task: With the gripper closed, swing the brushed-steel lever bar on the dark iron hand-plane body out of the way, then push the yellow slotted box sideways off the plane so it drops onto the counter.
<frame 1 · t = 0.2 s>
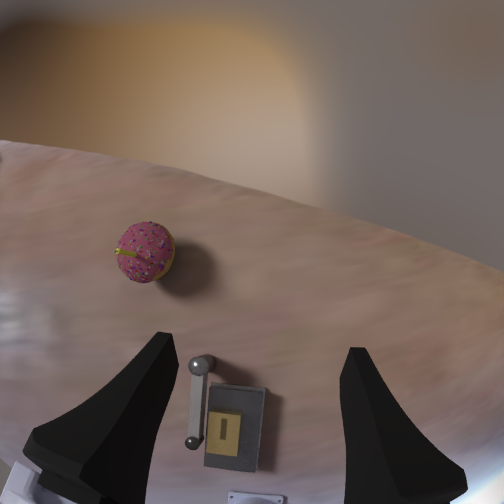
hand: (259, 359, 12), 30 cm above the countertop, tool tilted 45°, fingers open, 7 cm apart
yellow slotted box: (224, 431, 36), point 2 cm above the countertop, touching plane body
cupcake: (156, 259, 46), on the countertop
plane body: (234, 427, 39), on the countertop
lever: (199, 401, 37), point 3 cm above the countertop, hinge at 0.0°
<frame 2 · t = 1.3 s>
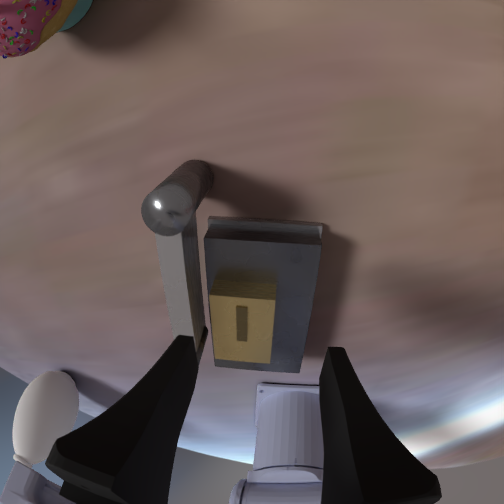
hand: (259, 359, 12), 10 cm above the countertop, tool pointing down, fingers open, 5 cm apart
sauce bottle: (67, 375, 35), on the countertop
yellow slotted box: (244, 316, 22), point 2 cm above the countertop, touching plane body
cupcake: (69, 1, 13), on the countertop
plane body: (262, 295, 24), on the countertop
lever: (188, 270, 19), point 3 cm above the countertop, hinge at 0.0°
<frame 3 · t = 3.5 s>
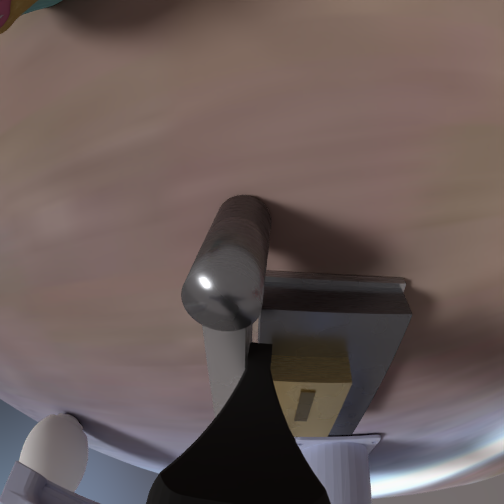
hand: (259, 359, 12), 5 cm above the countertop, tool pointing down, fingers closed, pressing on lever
sauce bottle: (72, 417, 30), on the countertop
yellow slotted box: (301, 390, 16), point 2 cm above the countertop, touching plane body
plane body: (317, 358, 18), on the countertop
lever: (235, 347, 14), point 3 cm above the countertop, hinge at 0.4°, touching gripper
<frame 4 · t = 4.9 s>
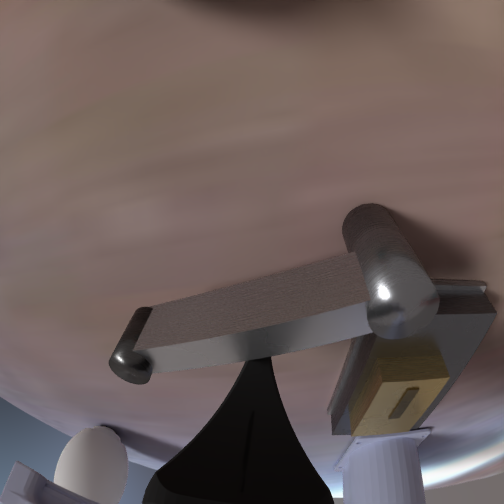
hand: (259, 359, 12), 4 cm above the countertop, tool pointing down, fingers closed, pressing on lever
sauce bottle: (108, 428, 29), on the countertop
yellow slotted box: (393, 389, 16), point 2 cm above the countertop, touching plane body
plane body: (399, 358, 18), on the countertop
lever: (258, 298, 12), point 3 cm above the countertop, hinge at 67.2°, touching gripper
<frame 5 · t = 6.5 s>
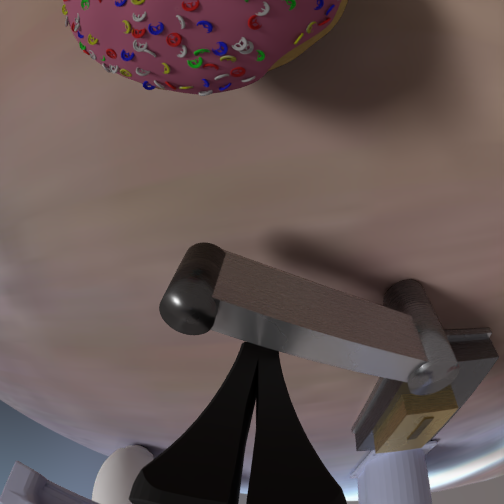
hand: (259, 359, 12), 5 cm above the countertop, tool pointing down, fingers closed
sauce bottle: (141, 447, 31), on the countertop
yellow slotted box: (411, 415, 18), point 2 cm above the countertop, touching plane body
plane body: (416, 387, 20), on the countertop
lever: (330, 307, 12), point 3 cm above the countertop, hinge at 108.7°
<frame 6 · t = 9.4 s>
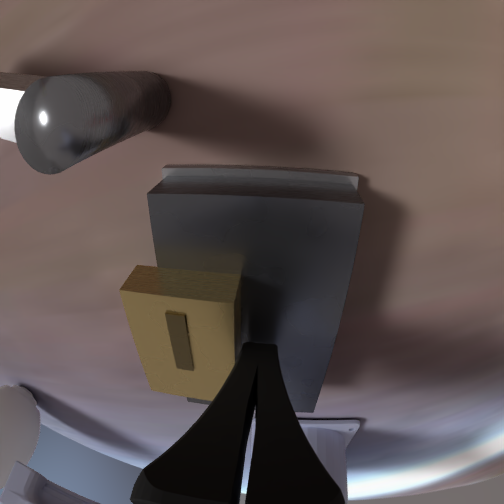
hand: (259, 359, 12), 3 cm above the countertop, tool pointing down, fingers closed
sauce bottle: (27, 390, 26), on the countertop
yellow slotted box: (193, 328, 13), point 2 cm above the countertop, touching gripper, plane body
plane body: (256, 298, 15), on the countertop
lever: (3, 91, 7), point 3 cm above the countertop, hinge at 108.7°
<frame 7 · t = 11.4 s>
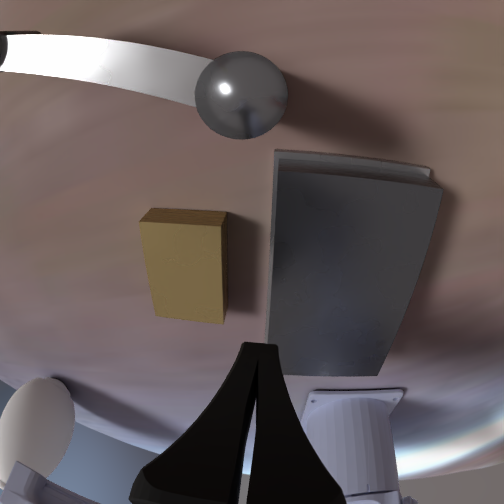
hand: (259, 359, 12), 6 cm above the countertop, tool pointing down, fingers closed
sauce bottle: (60, 382, 28), on the countertop
yellow slotted box: (183, 277, 16), point 2 cm above the countertop, tilted 180°
plane body: (337, 271, 17), on the countertop
lever: (122, 59, 9), point 3 cm above the countertop, hinge at 108.7°
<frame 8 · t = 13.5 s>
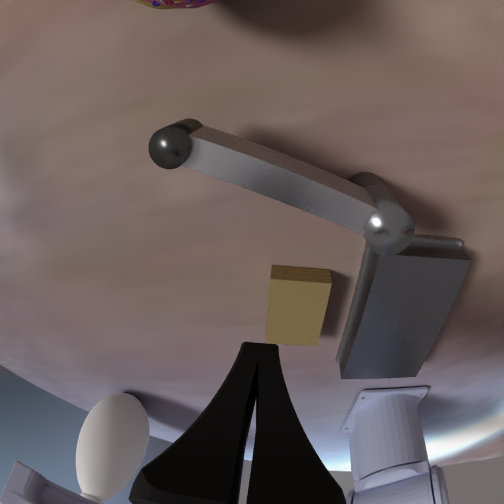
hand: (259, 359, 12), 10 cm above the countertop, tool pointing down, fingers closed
sauce bottle: (130, 396, 34), on the countertop
yellow slotted box: (296, 315, 22), point 2 cm above the countertop, tilted 180°
plane body: (395, 306, 22), on the countertop
lever: (289, 172, 15), point 3 cm above the countertop, hinge at 108.7°
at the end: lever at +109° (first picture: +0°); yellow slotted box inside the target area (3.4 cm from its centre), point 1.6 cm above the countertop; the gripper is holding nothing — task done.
